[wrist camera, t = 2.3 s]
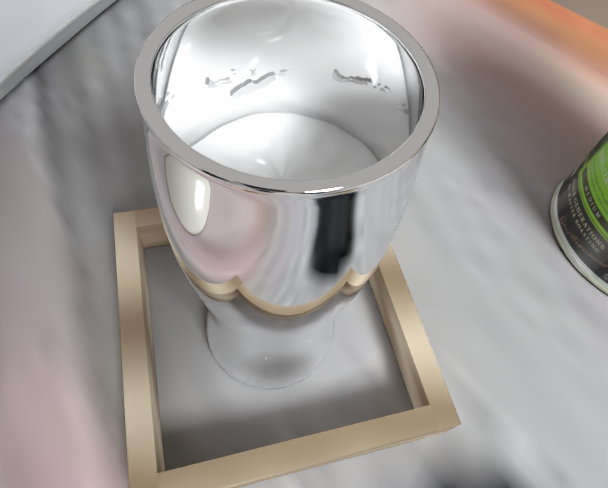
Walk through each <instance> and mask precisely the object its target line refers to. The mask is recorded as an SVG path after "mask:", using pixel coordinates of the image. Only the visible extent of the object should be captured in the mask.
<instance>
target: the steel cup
mask: <svg viewBox="0 0 608 488" xmlns="http://www.w3.org/2000/svg"><path fill="white" fill-rule="evenodd" d="M134 89H135V96H136V100H137V104H138V107H139V109H140V112H141V118H142V124H143V130H144V138H145V145H146V152H147V158H148V163H149V169H150V175H151V180H152V186H153V190H154V194H155V198H156V202H157V206H158V210H159V214H160V218H161V222H162V225H163V228H164V230H165V233H166V236H167V239H168V241H169V244H170V247H171V249H172V252H173V254H174V256H175V259H176V260H177V262H178V264H179V266H180V267H181V269H182V271H183V273H184V274H185V276H186V278H187V280H188V281H189V283H190V285H191V286H192V288H193V289H194V290H195V292H196V293H197V294H198V296H199V297H200V299H201V300H202V301H203V303H204V304H205V305H206V307H207V308H208V309H209V310H208V315H207V322H206V331H207V339H208V343H209V347H210V349H211V352H212V354H213V356H214V358H215V359H216V361H217V362H218V364H219V365H220V366H221V367H222V368H223V369H224V370H225V371H226V372H227V373H228V374H229V375H230V376H232V377H233V378H235V379H236V380H238V381H240V382H242V383H244V384H247V385H250V386H253V387H257V388H265V389H275V388H282V387H287V386H290V385H293V384H296V383H298V382H300V381H302V380H304V379H305V378H307V377H308V376H310V375H311V374H312V373H313V372H315V371H316V370H317V369H318V367H319V366H320V365H321V364H322V362H323V361H324V359H325V358H326V356H327V354H328V352H329V350H330V347H331V344H332V341H333V336H334V318H335V317H336V316H337V315H338V314H339V313H340V312H341V311H342V310H343V309H344V308H345V307H346V306H347V305H348V304H349V303H350V302H351V301H352V300H353V299H354V298H355V297H356V295H357V294H358V293H359V292H360V290H361V289H362V288H363V287H364V285H365V284H366V283H367V282H368V280H369V279H370V278H371V276H372V275H373V274H374V272H375V271H376V269H377V268H378V266H379V264H380V262H381V260H382V259H383V257H384V255H385V253H386V251H387V249H388V248H389V246H390V244H391V242H392V240H393V238H394V236H395V233H396V231H397V228H398V226H399V224H400V221H401V219H402V216H403V214H404V211H405V209H406V206H407V204H408V201H409V198H410V195H411V192H412V189H413V186H414V183H415V180H416V177H417V174H418V170H419V167H420V164H421V160H422V157H423V154H424V151H425V148H426V145H427V142H428V139H429V137H430V135H431V133H432V131H433V129H434V127H435V124H436V121H437V117H438V113H439V106H440V90H439V84H438V80H437V76H436V73H435V71H434V68H433V66H432V64H431V62H430V60H429V58H428V56H427V55H426V53H425V51H424V50H423V49H422V47H421V46H420V45H419V43H418V42H417V41H416V40H415V39H414V38H413V37H412V36H411V35H410V34H409V33H408V32H407V31H406V30H405V29H404V28H403V27H402V26H401V25H399V24H398V23H397V22H395V21H394V20H393V19H391V18H390V17H388V16H387V15H385V14H384V13H382V12H380V11H379V10H377V9H375V8H373V7H371V6H369V5H367V4H365V3H363V2H361V1H358V0H193V1H191V2H189V3H187V4H185V5H184V6H182V7H180V8H179V9H177V10H176V11H174V12H173V13H171V14H170V15H169V16H167V17H166V18H165V19H164V20H163V21H162V22H161V23H160V24H159V25H158V26H157V27H156V28H155V29H154V30H153V31H152V32H151V34H150V35H149V37H148V38H147V39H146V41H145V43H144V44H143V46H142V48H141V51H140V53H139V55H138V58H137V62H136V66H135V73H134Z"/></svg>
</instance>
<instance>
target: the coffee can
mask: <svg viewBox="0 0 608 488" xmlns="http://www.w3.org/2000/svg"><path fill="white" fill-rule="evenodd" d="M550 215H551V223H552V227H553V231H554V234H555V236H556V239H557V241H558V243H559V244H560V246H561V248H562V249H563V252H564V253H565V255H566V256H567V258H568V259H569V261H570V262H571V263H572V264H573V266H574V267H575V268H576V269H577V270H578V271H579V272H580V273H581V274H582V275H583V276H584V277H585V278H586V279H587V280H588V281H589V282H591V283H592V284H593V285H594V286H596V287H597V288H598V289H600V290H601V291H602V292H604V293H605V294H607V295H608V133H607V134H606V135H605V136H604V137H603V138H602V139H601V140H600V141H599V143H598V144H597V145H596V146H595V147H594V148H593V149H592V150H591V151H590V153H589V154H588V155H587V156H586V157H585V158H584V159H583V160H582V162H581V163H580V164H579V165H578V166H577V167H576V168H575V169H574V170H573V172H572V173H571V174H570V175H568V176H567V177H566V178H564V179H563V181H562V182H561V183H560V184H559V185H558V186H557V188H556V190H555V191H554V194H553V197H552V201H551V208H550Z"/></svg>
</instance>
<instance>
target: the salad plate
mask: <svg viewBox="0 0 608 488" xmlns="http://www.w3.org/2000/svg"><path fill="white" fill-rule="evenodd" d="M115 1H116V0H0V100H1V99H2V98H3V97H4V96H5V95H6V94H7V93H8V92H10V91H11V90H12V89H13V88H14V87H15V86H16V85H17V84H18V83H19V82H21V81H22V80H23V79H24V78H25V77H26V76H27V75H28V74H30V73H31V72H32V71H33V70H34V69H35V68H37V67H38V66H39V65H40V64H41V63H42V62H44V61H45V60H46V59H47V58H48V57H49V56H51V55H52V54H53V53H54V52H55V51H56V50H58V49H59V48H60V47H61V46H62V45H63V44H65V43H66V42H67V41H68V40H69V39H70V38H72V37H73V36H74V35H75V34H76V33H77V32H79V31H80V30H81V29H82V28H83V27H84V26H86V25H87V24H88V23H89V22H90V21H92V20H93V19H94V18H95V17H96V16H97V15H99V14H100V13H101V12H102V11H104V10H105V9H106V8H107V7H109V6H110V5H111V4H112V3H114V2H115Z"/></svg>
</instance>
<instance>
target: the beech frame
mask: <svg viewBox="0 0 608 488" xmlns="http://www.w3.org/2000/svg"><path fill="white" fill-rule="evenodd" d="M113 216H114V233H115V250H116V268H117V285H118V302H119V319H120V337H121V354H122V371H123V389H124V406H125V423H126V440H127V458H128V475H129V488H237V487H241V486H245V485H248V484H252V483H256V482H260V481H264V480H267V479H271V478H275V477H279V476H283V475H286V474H290V473H294V472H298V471H301V470H305V469H309V468H313V467H317V466H320V465H324V464H328V463H332V462H335V461H339V460H343V459H347V458H351V457H354V456H358V455H362V454H366V453H370V452H373V451H377V450H381V449H385V448H388V447H392V446H396V445H400V444H404V443H407V442H411V441H415V440H419V439H422V438H426V437H430V436H434V435H438V434H441V433H445V432H447V431H449V430H451V429H453V428H455V427H456V426H458V425H460V424H461V422H460V419H459V417H458V414H457V412H456V409H455V407H454V404H453V401H452V399H451V396H450V394H449V391H448V389H447V386H446V383H445V381H444V378H443V376H442V373H441V371H440V368H439V366H438V363H437V360H436V358H435V355H434V353H433V350H432V348H431V345H430V342H429V340H428V337H427V335H426V332H425V330H424V327H423V324H422V322H421V319H420V317H419V314H418V312H417V309H416V306H415V304H414V301H413V299H412V296H411V294H410V291H409V288H408V286H407V283H406V281H405V278H404V276H403V273H402V270H401V268H400V265H399V263H398V260H397V258H396V255H395V253H394V250H393V247H392V245H391V244H390V246H389V248H388V249H387V251H386V253H385V255H384V257H383V259H382V260H381V262H380V264H379V266H378V268H377V269H376V271H375V272H374V274H373V275H372V276H371V278H370V279H369V281H370V284H371V287H372V290H373V293H374V296H375V299H376V302H377V304H378V307H379V310H380V313H381V316H382V319H383V322H384V325H385V327H386V330H387V333H388V336H389V339H390V342H391V345H392V348H393V350H394V353H395V356H396V359H397V362H398V365H399V368H400V371H401V373H402V376H403V379H404V382H405V385H406V388H407V391H408V394H409V396H410V399H411V402H412V405H413V408H414V409H412V410H408V411H404V412H400V413H396V414H392V415H388V416H384V417H380V418H376V419H372V420H368V421H364V422H360V423H356V424H352V425H348V426H344V427H340V428H336V429H332V430H328V431H324V432H320V433H316V434H312V435H308V436H304V437H300V438H296V439H292V440H288V441H284V442H280V443H276V444H272V445H268V446H264V447H260V448H256V449H252V450H248V451H244V452H240V453H236V454H232V455H228V456H224V457H220V458H216V459H212V460H208V461H204V462H200V463H196V464H192V465H188V466H184V467H180V468H176V469H172V470H168V471H165V466H164V455H163V444H162V433H161V423H160V412H159V401H158V390H157V379H156V369H155V358H154V347H153V336H152V325H151V315H150V304H149V293H148V282H147V271H146V261H145V250H144V248H149V247H155V246H161V245H167V244H169V241H168V239H167V236H166V233H165V230H164V228H163V225H162V222H161V218H160V214H159V210H158V207H154V208H147V209H140V210H133V211H126V212H119V213H113Z"/></svg>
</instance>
